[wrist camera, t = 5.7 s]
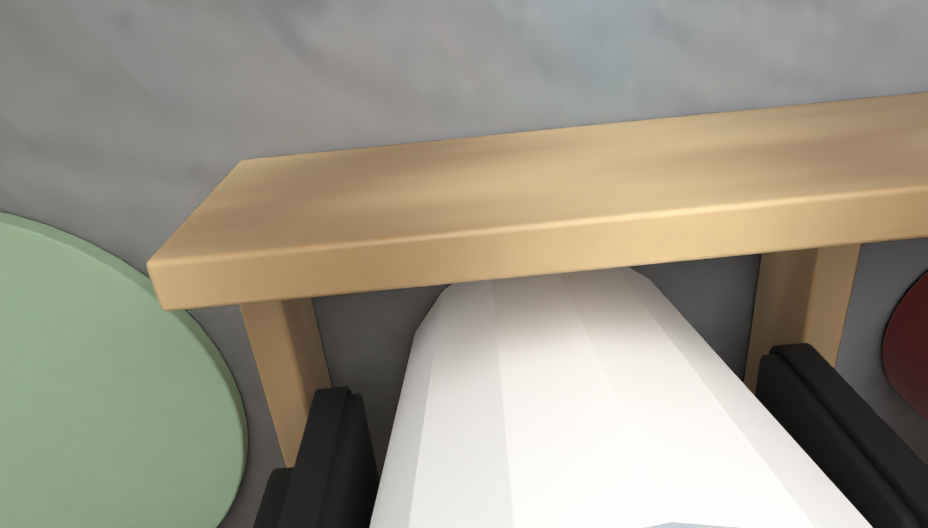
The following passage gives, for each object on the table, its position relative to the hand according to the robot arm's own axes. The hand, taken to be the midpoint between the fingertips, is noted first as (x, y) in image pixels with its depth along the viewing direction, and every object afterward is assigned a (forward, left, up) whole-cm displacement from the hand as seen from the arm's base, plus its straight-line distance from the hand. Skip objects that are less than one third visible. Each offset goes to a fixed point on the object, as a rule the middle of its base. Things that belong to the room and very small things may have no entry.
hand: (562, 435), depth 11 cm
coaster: (+11, 0, -2) cm, 11 cm away
